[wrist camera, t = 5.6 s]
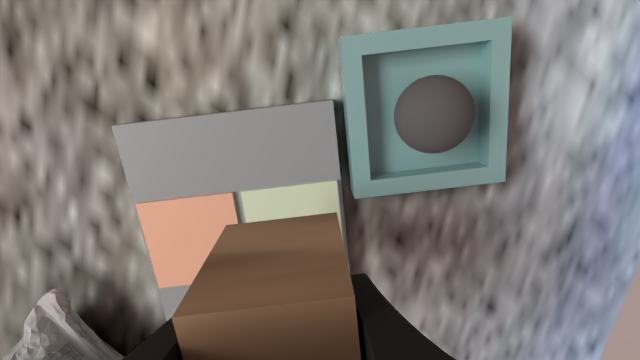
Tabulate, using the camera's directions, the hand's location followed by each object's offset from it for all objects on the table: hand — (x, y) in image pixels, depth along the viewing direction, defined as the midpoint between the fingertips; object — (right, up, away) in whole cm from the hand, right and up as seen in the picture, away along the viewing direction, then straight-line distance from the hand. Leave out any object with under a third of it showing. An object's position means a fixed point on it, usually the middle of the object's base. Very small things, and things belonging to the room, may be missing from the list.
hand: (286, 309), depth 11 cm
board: (-3, +2, +7) cm, 8 cm away
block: (0, +1, +2) cm, 2 cm away
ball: (+6, +7, +5) cm, 10 cm away
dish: (+6, +7, +5) cm, 11 cm away
